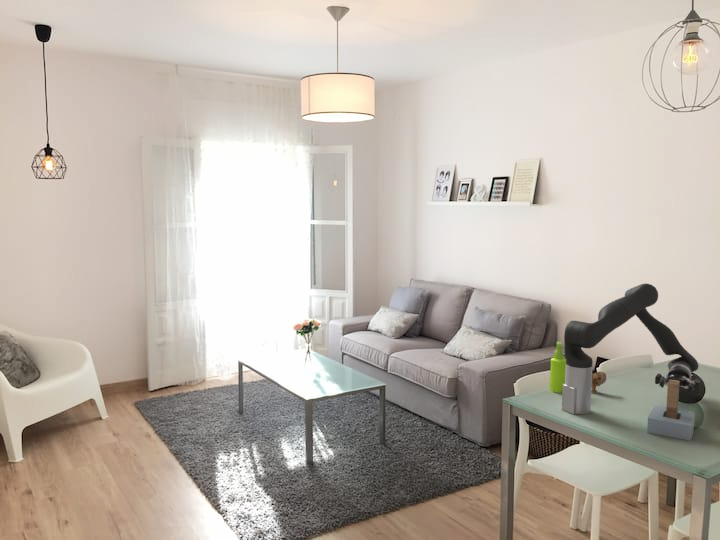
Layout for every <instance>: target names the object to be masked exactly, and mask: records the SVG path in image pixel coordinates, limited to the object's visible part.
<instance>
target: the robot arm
mask: <svg viewBox="0 0 720 540" xmlns="http://www.w3.org/2000/svg"><path fill="white" fill-rule="evenodd" d="M658 299H659V292H658V289H657V288H656V286H654V285H652V284H650V283H641V284H639V285H636V286H633V287H632V288H629V289H627V290H626V291H625V292H624V296H622V297H620V298H617V299H615V300H613V301H611V302H608V303H607V304H606V305H604V306H603V307H602V308H601V309H600V310H599V312H598V314H597V321H594V322H585V321H579V320H570V321H569V322H568V323H567V324H566V326H565V329H564V335H563V338H564V339H563V341H564V346H563V347H564V349H563V350H564V351H563V355H564V359H566V370H565V384H563V390H562V393H561V396H562V397H561V410H563V411H565V412H567V413H570V414H572V415H587V414H589V413H591V405H592V401H591V400H592V399H591V398H592V387H591V385H592V374H593V362H594V361H593V358H592V357H591V356H590V355H588V354H587V353H586V352H584V350H583V349H592V348H594V347H595V346H597V345H599V343H600V342H601V341H602V340H603V339H604V338H606V337H607V336H608V335H609V334H610V333H612V332H614V331H615V330H616V329H618V328H619V327H621V326H623V325H624V324H625V323H627V322H628V321H629V320H631V319H632V318H633V317H635V316H636V317H637V318H638V320H639V321H640V322H641V323H642V324H643V325H644V327H646V328H647V330H648V331H649V332H650V333H651V335H652V337H654V340H655V341H656V343H657V344H658V346H659V347H660V349H661V350H662V353H664V355H665V356H674V355H677V356H678V355H679V357H677V358H674V359H672V360H670V361H669V362H668V364H667V368H668V373H667V375H665V376H663V375H662V373H657V374H656V376H655V377H654V384H656V385H658V386H659V387H660V388H664V387H665V386H666V387H668V382H669V380H677V381H680V384H679V389H685V390H687V392H688V393H689V392H693V390H694V389H695V391H696V390H697V391H700V386H701V380H700V379H699V378H695V379H694V380H692V373H694V372H696V371H697V370H698V369H699V362H698V361H697V359H696V358H695V357H694V356H693V355H692V354H691V353H689V351H688V350H686V349H685V348H684V346H683V345H682V344H681V342H680V341H679V340H678V338H677V336H676V334H675V333H674V331H673V330H671V328H669V326H667V325H666V324H664V323H663V322H661V321H659V319H657V318H655V317H654V316H653V315H652V314H651V313H650V312H649V311H648V310H647V308H649V307H651V306H654V305H655V304H656V303H657V302H658ZM582 348H583V349H582Z"/></svg>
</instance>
